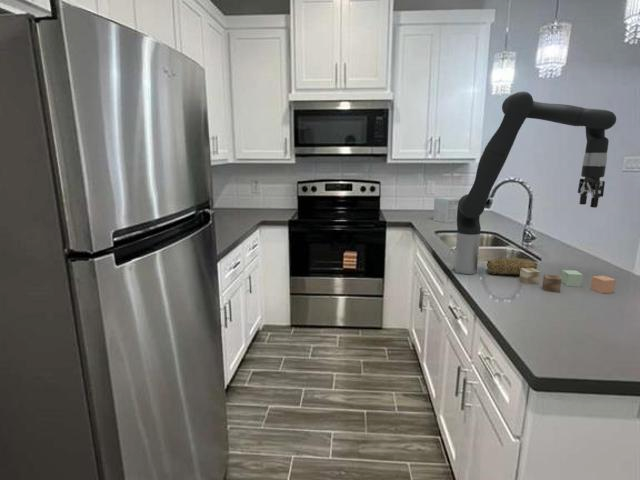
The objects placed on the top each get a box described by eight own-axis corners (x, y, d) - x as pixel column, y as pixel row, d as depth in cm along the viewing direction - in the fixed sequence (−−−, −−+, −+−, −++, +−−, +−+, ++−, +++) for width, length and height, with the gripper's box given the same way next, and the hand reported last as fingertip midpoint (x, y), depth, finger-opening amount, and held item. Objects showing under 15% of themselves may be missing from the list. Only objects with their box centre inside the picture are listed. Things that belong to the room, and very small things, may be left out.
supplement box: (458, 221, 285) (460, 198, 281) (446, 223, 279) (448, 199, 275) (444, 219, 296) (446, 196, 293) (432, 220, 290) (434, 197, 286)
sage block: (566, 286, 148) (568, 274, 147) (560, 282, 153) (562, 270, 152) (580, 286, 147) (582, 274, 146) (574, 282, 152) (576, 270, 151)
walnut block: (544, 290, 144) (545, 278, 142) (542, 286, 148) (544, 274, 147) (559, 292, 142) (561, 279, 140) (557, 288, 146) (559, 275, 145)
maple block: (526, 284, 151) (527, 272, 150) (519, 280, 156) (520, 268, 155) (538, 284, 151) (540, 271, 150) (531, 279, 156) (532, 268, 155)
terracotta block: (602, 293, 140) (604, 280, 139) (590, 289, 145) (592, 276, 144) (613, 292, 141) (615, 279, 140) (601, 288, 146) (603, 275, 145)
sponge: (490, 279, 161) (543, 273, 154) (487, 260, 161) (540, 254, 154) (487, 275, 173) (536, 270, 167) (484, 258, 173) (533, 252, 167)
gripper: (574, 164, 158) (569, 203, 161) (593, 165, 144) (587, 208, 148) (594, 164, 157) (588, 203, 160) (615, 165, 143) (608, 208, 147)
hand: (588, 205), depth 154 cm, fingers open, 8 cm apart
